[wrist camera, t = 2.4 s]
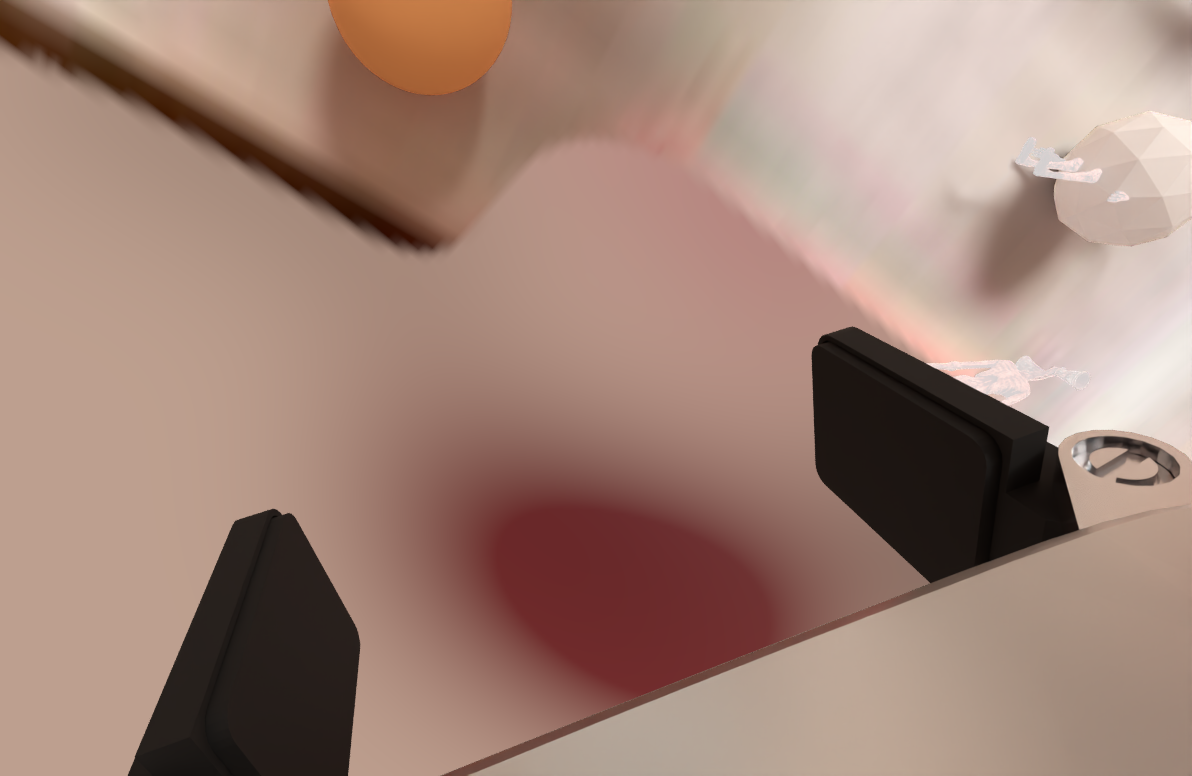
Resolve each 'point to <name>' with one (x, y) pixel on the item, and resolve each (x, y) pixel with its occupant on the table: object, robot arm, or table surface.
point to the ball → (425, 39)
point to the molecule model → (1104, 212)
